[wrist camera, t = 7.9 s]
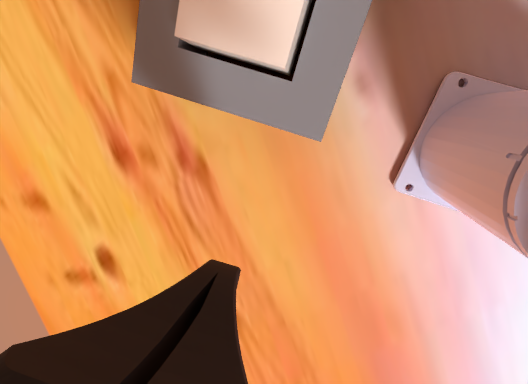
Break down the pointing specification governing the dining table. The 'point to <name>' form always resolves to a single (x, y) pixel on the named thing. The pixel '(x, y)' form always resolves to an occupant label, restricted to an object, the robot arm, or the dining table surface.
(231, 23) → the cream key
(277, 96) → the key panel
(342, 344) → the dining table surface
